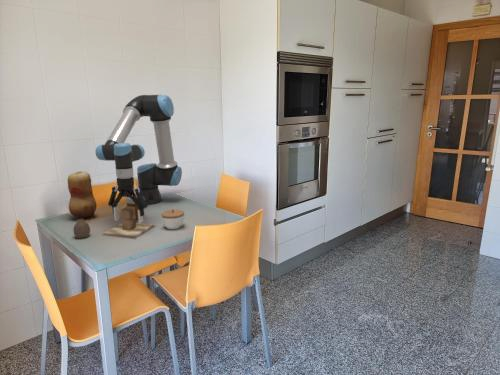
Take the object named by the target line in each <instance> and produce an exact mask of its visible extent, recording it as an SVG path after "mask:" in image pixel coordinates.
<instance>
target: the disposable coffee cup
mask: <svg viewBox="0 0 500 375" xmlns="http://www.w3.org/2000/svg"><path fill="white" fill-rule="evenodd" d="M136 197H137V196H136ZM143 198H144V197H143ZM144 200H145V199H144ZM125 202H126V207H135V217H136V222H139V220H138V209H139V208H138V207H137V206H136V204H135V203H134V202H133V200H132V199H131V198H130V197H125Z"/></svg>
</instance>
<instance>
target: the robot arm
mask: <svg viewBox="0 0 500 375" xmlns="http://www.w3.org/2000/svg"><path fill="white" fill-rule="evenodd" d="M174 110H175V108H174V103H173V101H172V99H171V98H170V96H168V95H166V94H142V95H138V96H135V97H133V98H132V99H131V100H130V101H129V102H128V103H127V104H126V105H125V106H124V108H123V110H122V115H121V117H120V118H119V119H118V122H117V123H116V125H115V127H114V128H113V130H112V131H111V133H110V135H109V137H108V139H107V140H106V142H105V143H104V144H99V145H97V146H96V147H95V156H96V158H97V159H98V160H99V161H114V165H115V175H116V176H115V177H116V185H115V186H112V187H111V194H110V197H109V199H108V203H107V206H109V207H111V210H112V214H113V216H114V218H113V219H114V221H115V222H117V221H119V220H120V218H121V217H120V210H119V209H120V208H119V206H118V204H119V203H120V201H121V200H122V198H127V197H130V198H131V199H132V200H133V202H134V203H135V204H136V206H137V207H138V208H139V209H138V220H139V221H138V223H143V222H144V216H145V209H147V208H148V205H154V204H155V205H156V204H158V203H160V202H161V203H162V201H163V198H162V195H161V192H160V190H159V186H166V187H167V186H168V187H172V186H173V187H174V186H175V187H176V186H178V185H179V184H180V183H181V180H182V175H183V169H182V167H181V166H178V162H177V161H176V160H175V157H174V150H173V141H172V136H171V128H170V121H171V120H172V116H173V115H174V112H175V111H174ZM143 117H149V121H150V122H151V123H153V127H154V128H153V129H154V135H155V141H156V142H155V143H156V150H157V155H158V164H157V163H153V162H151V163H146V164H141V165H139V166H138V167H137V168H136V174H137V185H138V188H136V187H135V178H134V166H133V162H136V161H140V160H141V159H143V158H144V157H145V155H146V154H145V152H146V151H145V149H144V146H142V145H141V144H132V145H131V144H130V143H128V142H126V140H127V138H128V137H129V135H130V134H131V131H132V129H133V128H134V127H135V125H136V122H138V121H139V120H140V119H141V118H143ZM136 196H137V197H136ZM143 197H144V198H143ZM144 199H145V200H144Z"/></svg>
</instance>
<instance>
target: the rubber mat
mask: <svg viewBox="0 0 500 375" xmlns="http://www.w3.org/2000/svg"><path fill="white" fill-rule="evenodd" d="M153 226H154V227H152V228H150V229H149V230H147V231H145V232H144V233H142V234H140V235H139V236H137V237H135V238H129V237H121V236H113V235H105V232H104V233H103V234H102V236H103V237H104V236H106V237H113V238H122V239H130V240H136V239H138V238H140V237H142V236H143V235H144V234H147V232H149V231H151V230H153V229H154V228H155V227H157V226H156V225H153Z"/></svg>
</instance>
